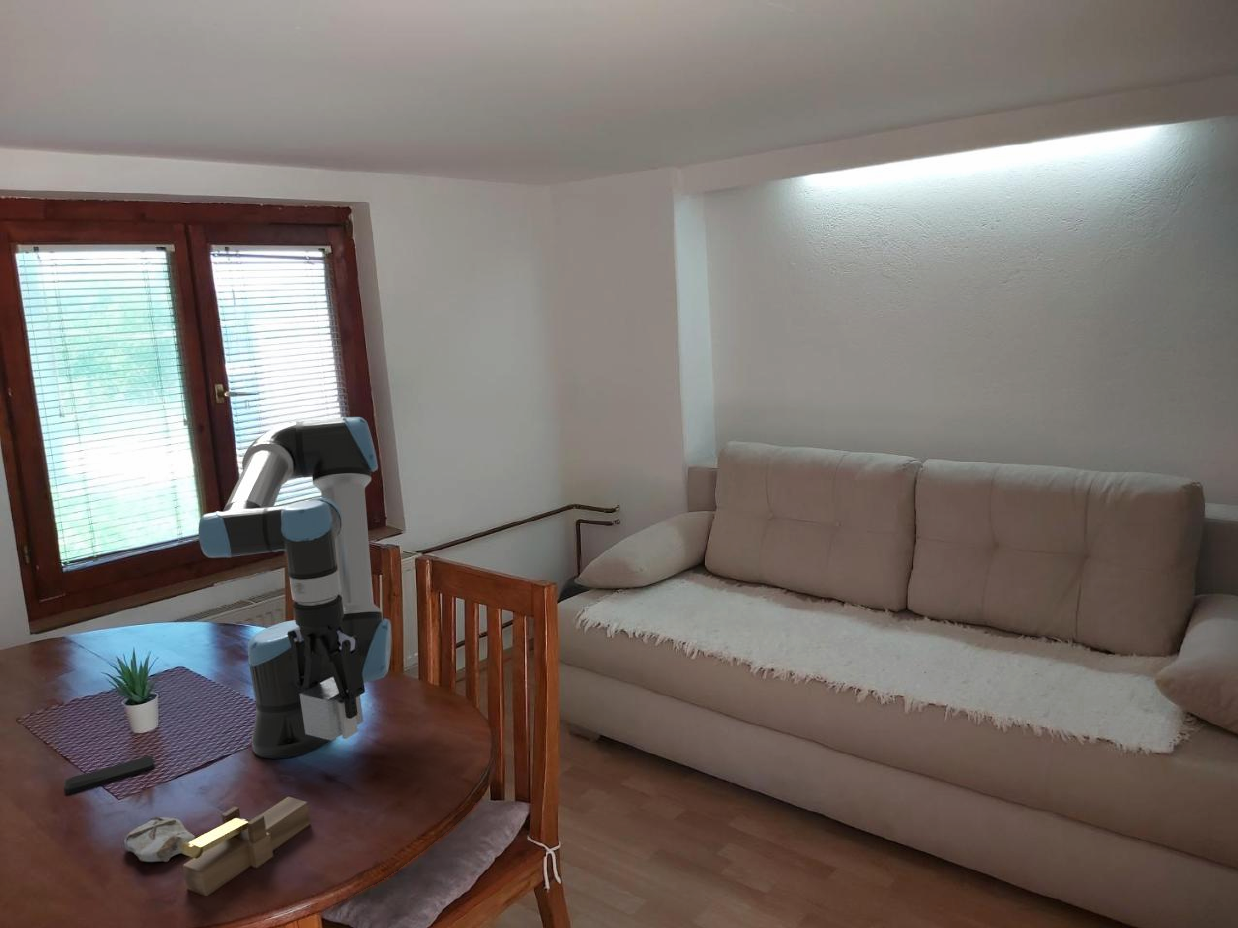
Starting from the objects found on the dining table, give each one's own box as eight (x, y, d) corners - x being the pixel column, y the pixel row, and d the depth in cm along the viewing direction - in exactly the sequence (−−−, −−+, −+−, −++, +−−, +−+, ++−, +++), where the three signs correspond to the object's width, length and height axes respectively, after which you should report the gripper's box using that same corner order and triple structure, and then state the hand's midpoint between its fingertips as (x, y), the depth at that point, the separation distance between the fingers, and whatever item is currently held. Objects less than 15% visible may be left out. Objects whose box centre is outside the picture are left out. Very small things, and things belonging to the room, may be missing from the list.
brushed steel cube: (305, 733, 150) (299, 694, 149) (337, 715, 156) (331, 676, 155) (331, 740, 148) (326, 699, 146) (363, 721, 154) (358, 682, 152)
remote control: (154, 762, 180) (64, 785, 172) (153, 754, 179) (63, 776, 172) (156, 773, 175) (65, 797, 168) (155, 764, 175) (64, 787, 167)
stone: (115, 849, 150) (112, 830, 150) (171, 821, 157) (168, 804, 156) (148, 875, 143) (144, 856, 142) (205, 845, 149) (202, 827, 149)
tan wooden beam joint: (181, 886, 139) (173, 843, 138) (285, 816, 156) (280, 777, 155) (212, 898, 135) (205, 855, 134) (316, 825, 153) (310, 786, 151)
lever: (238, 822, 146) (177, 854, 136) (237, 812, 145) (177, 844, 136) (255, 828, 144) (195, 861, 134) (254, 818, 144) (194, 850, 134)
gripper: (257, 599, 149) (277, 731, 154) (343, 612, 140) (361, 752, 144) (293, 584, 155) (311, 711, 160) (378, 596, 146) (394, 731, 151)
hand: (335, 730), depth 152 cm, fingers closed on brushed steel cube, 6 cm apart
